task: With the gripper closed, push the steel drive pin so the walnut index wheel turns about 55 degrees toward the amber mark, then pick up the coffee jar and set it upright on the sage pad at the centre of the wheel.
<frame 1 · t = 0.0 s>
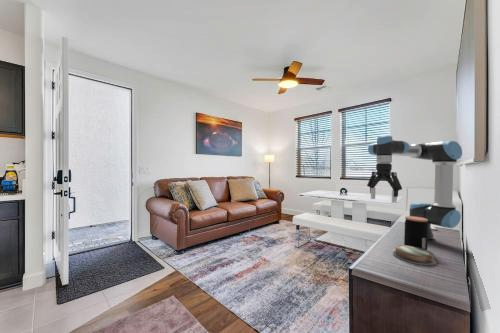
hand: (383, 200, 124), 28 cm above the table, tool pointing down, fingers open, 13 cm apart
coffee jar: (415, 249, 127), on the table
index wheel: (413, 247, 114), point 5 cm above the table, hinge at 0.0°
wheel base: (413, 257, 114), on the table
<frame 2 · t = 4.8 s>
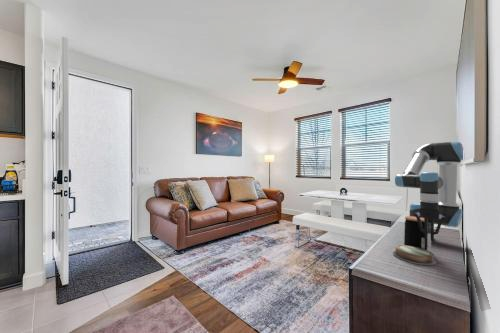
hand: (429, 246, 115), 6 cm above the table, tool pointing down, fingers closed
index wheel: (413, 247, 114), point 5 cm above the table, hinge at 2.5°, touching gripper
everything else where it was.
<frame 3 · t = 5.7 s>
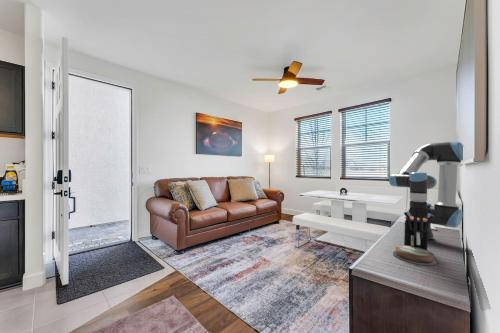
hand: (418, 244, 118), 6 cm above the table, tool pointing down, fingers closed
index wheel: (413, 247, 114), point 5 cm above the table, hinge at 40.9°, touching gripper
everything else where it was.
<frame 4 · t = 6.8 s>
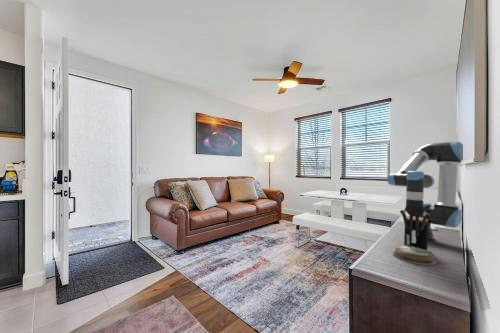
hand: (413, 242, 119), 6 cm above the table, tool pointing down, fingers closed
index wheel: (413, 247, 114), point 5 cm above the table, hinge at 56.1°
everything else where it was.
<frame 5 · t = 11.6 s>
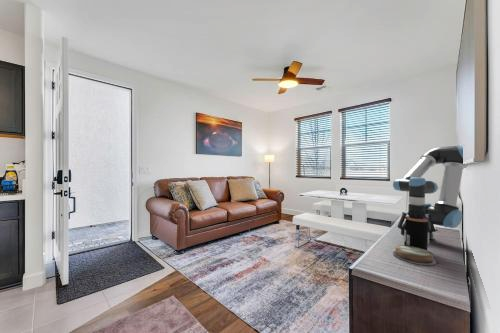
hand: (415, 242, 127), 4 cm above the table, tool pointing down, fingers closed on coffee jar, 11 cm apart
coffee jar: (415, 249, 127), on the table, touching gripper
everything else where it was.
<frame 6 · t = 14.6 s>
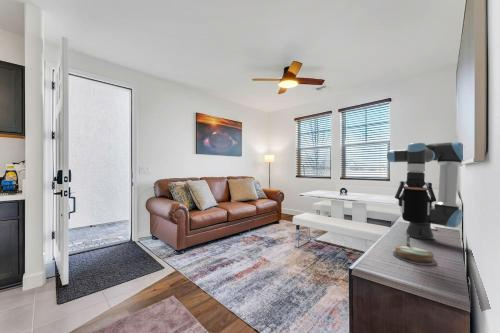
hand: (414, 213, 116), 23 cm above the table, tool pointing down, fingers closed on coffee jar, 11 cm apart
coffee jar: (414, 221, 116), point 18 cm above the table, touching gripper
everything else where it was.
when the fingers open (9 cm above the table, at t = 17.8 s): coffee jar drops 1 cm, resting on index wheel.
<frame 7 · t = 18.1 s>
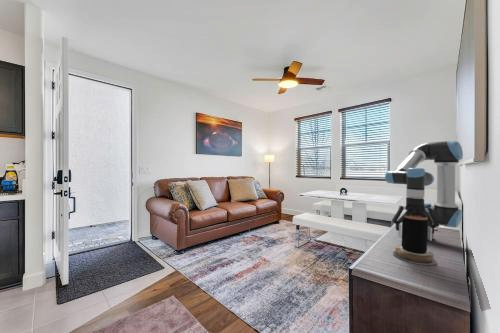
hand: (414, 238, 114), 10 cm above the table, tool pointing down, fingers open, 13 cm apart
coffee jar: (413, 250, 114), point 4 cm above the table, touching index wheel
index wheel: (413, 247, 114), point 5 cm above the table, hinge at 56.1°, touching coffee jar
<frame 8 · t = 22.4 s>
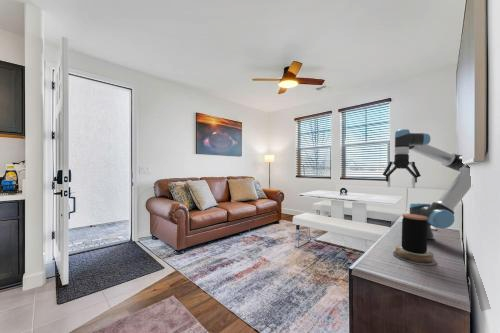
hand: (400, 187, 139), 35 cm above the table, tool pointing down, fingers open, 13 cm apart
nothing on the table moved.
at the end: index wheel at +56° (first picture: +0°); coffee jar 0.0 cm off-centre on the index wheel, point 3.7 cm above the index wheel's base; coffee jar tilted 0° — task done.
